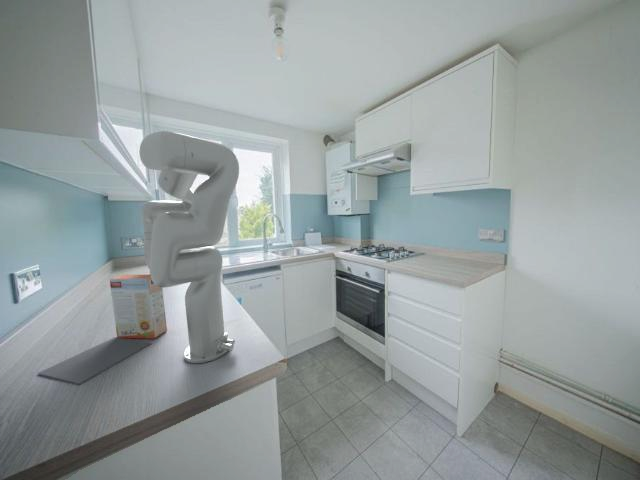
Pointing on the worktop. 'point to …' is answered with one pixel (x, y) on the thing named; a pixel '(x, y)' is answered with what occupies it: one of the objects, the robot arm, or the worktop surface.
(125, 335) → the cracker box
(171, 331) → the worktop surface
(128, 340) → the mat
